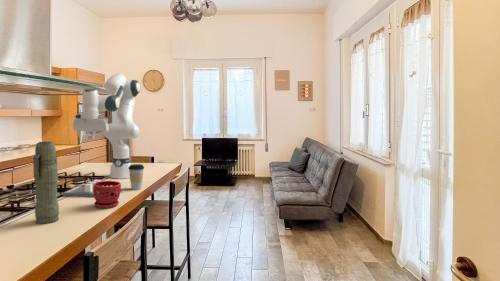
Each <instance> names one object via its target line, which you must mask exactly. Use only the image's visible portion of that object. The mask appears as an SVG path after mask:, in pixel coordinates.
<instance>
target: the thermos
mask: <svg viewBox="0 0 500 281" xmlns="http://www.w3.org/2000/svg"><path fill="white" fill-rule="evenodd" d="M56 149H57V148H56V146H55V143H54V142H52V141H39V142H37V143H36V145H35V148H34V155H33V157H32V159H33V163H32V165H33V179H34V184H35V195H36V196H35V201H36V202H35V206H34V214H35V215H34V217H35V223H36V224H37V225H38V224H39V225H49V224H52V223H56V222H58V221H59V214H60V209H59V208H60V206H59V203H58V185H57V184H58V182H59V176H58V175H59V170H58V154H57V151H56Z"/></svg>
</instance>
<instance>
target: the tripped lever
mask: <svg viewBox="0 0 500 281" xmlns="http://www.w3.org/2000/svg"><path fill="white" fill-rule="evenodd" d="M84 186H85V192H87V193H91V192H92V184H89V183H86V184H84Z"/></svg>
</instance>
